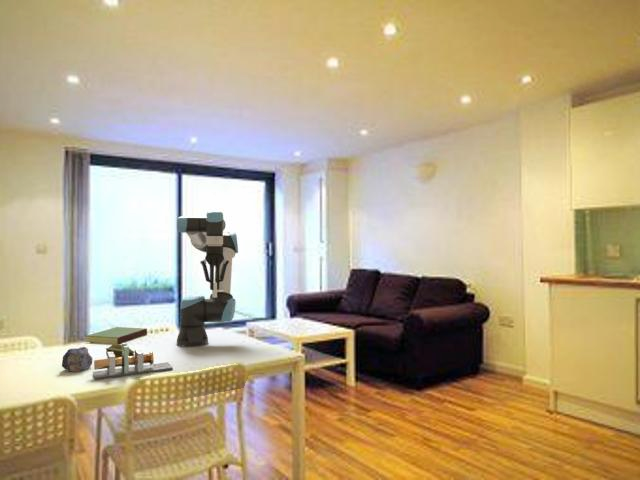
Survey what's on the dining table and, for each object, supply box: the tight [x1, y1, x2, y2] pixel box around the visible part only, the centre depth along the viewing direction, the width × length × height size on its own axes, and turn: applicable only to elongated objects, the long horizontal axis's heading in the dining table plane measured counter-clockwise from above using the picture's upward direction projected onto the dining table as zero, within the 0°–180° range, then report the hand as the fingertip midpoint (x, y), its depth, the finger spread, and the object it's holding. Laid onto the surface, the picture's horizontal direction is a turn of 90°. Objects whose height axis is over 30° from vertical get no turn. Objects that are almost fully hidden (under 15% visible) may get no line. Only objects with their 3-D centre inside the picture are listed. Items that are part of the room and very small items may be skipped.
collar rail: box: [92, 342, 173, 381], centre depth 180 cm, size 9×28×11 cm, turn 120°
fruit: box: [105, 344, 135, 358], centre depth 198 cm, size 11×12×7 cm
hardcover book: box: [85, 326, 148, 345], centre depth 242 cm, size 25×19×4 cm
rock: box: [61, 346, 93, 373], centre depth 183 cm, size 11×10×10 cm
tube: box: [93, 351, 155, 371], centre depth 178 cm, size 5×21×5 cm, turn 120°
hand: (214, 297), depth 209 cm, fingers closed
